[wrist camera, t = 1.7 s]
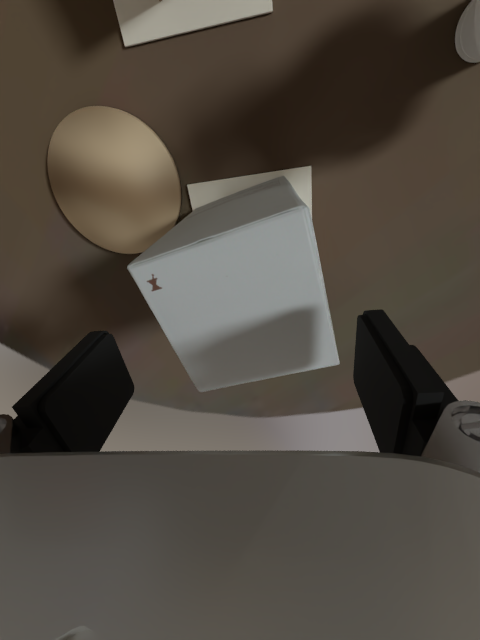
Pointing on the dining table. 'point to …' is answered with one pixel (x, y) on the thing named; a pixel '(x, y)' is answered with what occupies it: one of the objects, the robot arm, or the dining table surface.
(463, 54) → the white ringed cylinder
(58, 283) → the dining table surface
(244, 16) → the code tile
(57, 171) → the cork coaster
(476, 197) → the dining table surface
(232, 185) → the code tile
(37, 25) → the dining table surface
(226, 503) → the robot arm
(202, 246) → the supplement box
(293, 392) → the dining table surface
